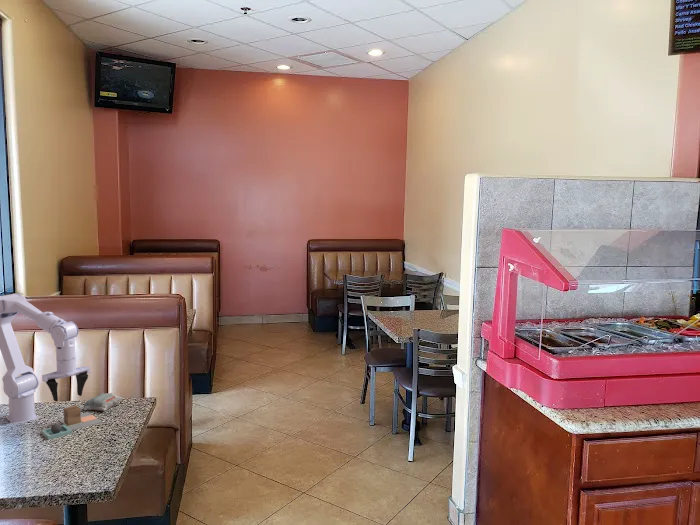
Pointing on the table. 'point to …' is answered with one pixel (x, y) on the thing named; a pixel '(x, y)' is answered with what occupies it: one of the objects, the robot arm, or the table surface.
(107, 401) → the packaged food
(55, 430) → the ball
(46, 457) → the table surface
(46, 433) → the dish
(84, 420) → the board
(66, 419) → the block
